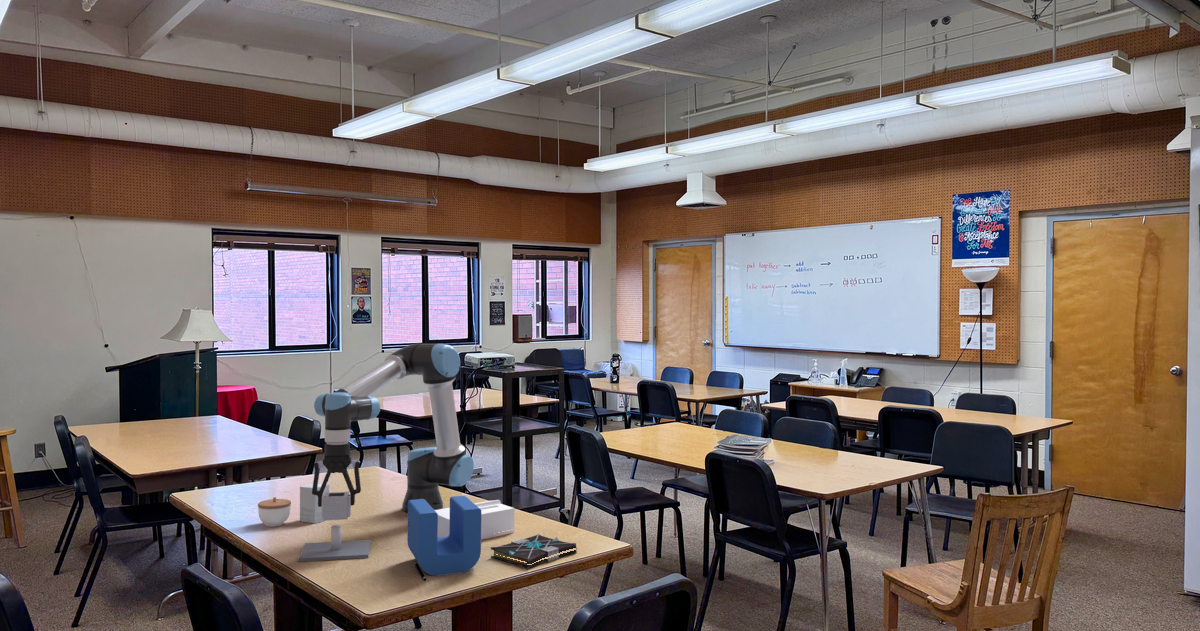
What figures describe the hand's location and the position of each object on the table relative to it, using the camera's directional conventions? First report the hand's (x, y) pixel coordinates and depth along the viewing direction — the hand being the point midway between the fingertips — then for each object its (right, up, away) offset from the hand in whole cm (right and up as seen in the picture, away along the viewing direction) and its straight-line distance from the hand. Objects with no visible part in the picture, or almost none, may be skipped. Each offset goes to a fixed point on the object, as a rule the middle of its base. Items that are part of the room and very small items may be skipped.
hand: (336, 516), depth 245 cm
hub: (0, 0, 0) cm, 0 cm away
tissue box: (+38, -12, +22) cm, 46 cm away
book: (+61, -13, -1) cm, 63 cm away
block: (+35, -12, -11) cm, 39 cm away
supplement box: (-20, -11, +37) cm, 44 cm away
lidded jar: (-32, -11, +31) cm, 46 cm away
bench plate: (0, -11, 0) cm, 11 cm away
